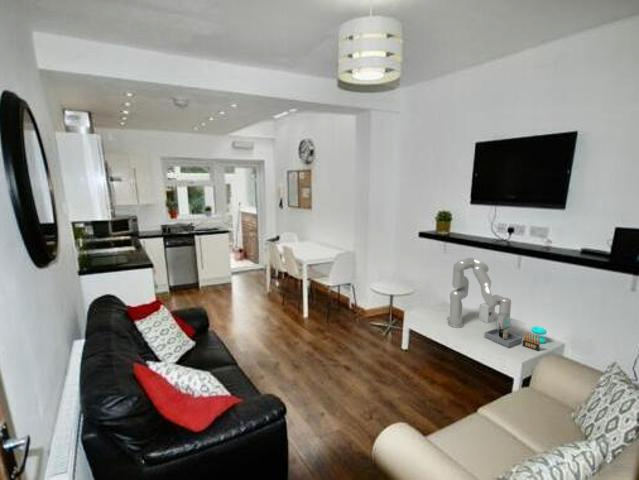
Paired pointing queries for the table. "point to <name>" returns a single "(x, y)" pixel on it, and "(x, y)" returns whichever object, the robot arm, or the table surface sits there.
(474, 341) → the table surface
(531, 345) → the ammunition clip
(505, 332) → the birch block
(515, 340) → the tray
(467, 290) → the robot arm
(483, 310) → the supplement box
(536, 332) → the donuts
